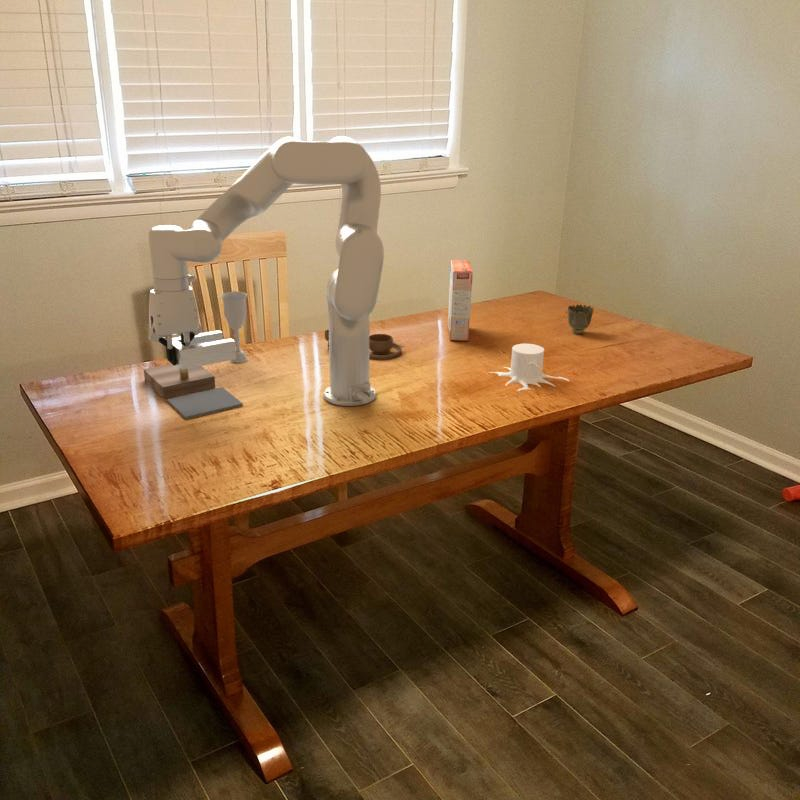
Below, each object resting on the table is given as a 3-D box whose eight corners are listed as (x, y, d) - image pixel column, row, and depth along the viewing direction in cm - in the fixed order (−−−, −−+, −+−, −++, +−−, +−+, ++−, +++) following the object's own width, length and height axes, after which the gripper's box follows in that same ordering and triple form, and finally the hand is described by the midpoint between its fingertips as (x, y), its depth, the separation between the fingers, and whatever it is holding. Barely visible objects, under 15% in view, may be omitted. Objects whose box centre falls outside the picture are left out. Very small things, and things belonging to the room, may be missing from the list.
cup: (565, 328, 244) (567, 303, 241) (589, 329, 243) (592, 304, 240) (566, 336, 237) (568, 310, 234) (591, 337, 236) (594, 311, 233)
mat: (242, 405, 188) (242, 403, 187) (185, 419, 180) (185, 416, 180) (222, 389, 197) (222, 386, 196) (167, 401, 189) (166, 399, 189)
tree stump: (501, 394, 197) (503, 364, 194) (480, 366, 214) (482, 338, 211) (577, 390, 200) (581, 360, 197) (551, 363, 217) (554, 335, 214)
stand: (215, 387, 198) (213, 362, 195) (164, 398, 191) (161, 373, 188) (194, 370, 208) (191, 346, 205) (144, 380, 201) (141, 356, 199)
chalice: (245, 365, 212) (241, 299, 205) (221, 363, 213) (216, 298, 206) (255, 356, 218) (251, 292, 211) (232, 354, 220) (227, 290, 212)
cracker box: (469, 341, 232) (473, 271, 223) (449, 341, 232) (452, 270, 223) (466, 326, 245) (470, 259, 236) (447, 326, 245) (449, 259, 236)
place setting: (376, 368, 213) (377, 347, 210) (321, 351, 224) (320, 331, 221) (415, 350, 226) (415, 330, 223) (360, 336, 237) (360, 317, 234)
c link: (220, 347, 191) (219, 330, 189) (236, 359, 184) (234, 340, 182) (167, 357, 184) (165, 339, 182) (181, 369, 177) (180, 350, 175)
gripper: (199, 275, 181) (205, 351, 188) (129, 284, 172) (138, 363, 180) (212, 282, 175) (218, 361, 183) (140, 292, 167) (149, 374, 174)
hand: (178, 361), depth 181 cm, fingers closed on c link, 2 cm apart
